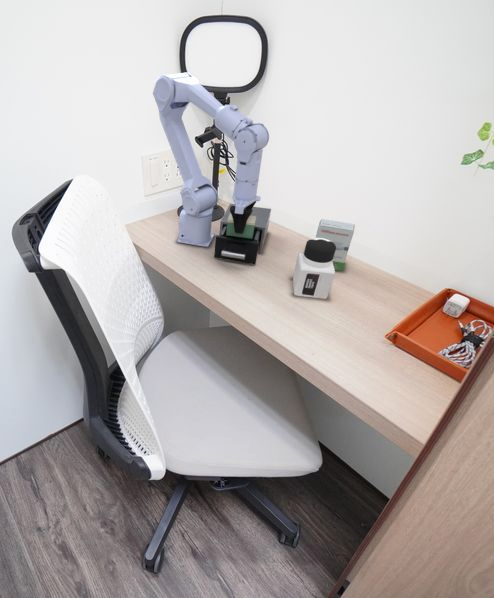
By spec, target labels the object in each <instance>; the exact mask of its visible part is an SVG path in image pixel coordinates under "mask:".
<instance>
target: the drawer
mask: <svg viewBox="0 0 494 598" xmlns="http://www.w3.org/2000/svg"><path fill="white" fill-rule="evenodd" d="M226 232H227V225H225V226H224V228H223V230H222V232H221V234H220V236H219V234H218V235H216V236H215V240H214V241H215V242H214V253H213V258H214V259H220V260H227V261H232V262H238V263H243V264H250V265H254V266H255V265H256V264H257V259H258V254H259V253H258V247H259V241H260V235H261V230H260V229H254V233H253V237H252V238H244V237H236V236H228V235H226Z"/></svg>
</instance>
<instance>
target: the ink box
mask: <svg viewBox="0 0 494 598" xmlns="http://www.w3.org/2000/svg"><path fill="white" fill-rule="evenodd" d="M316 230H317V231H316V235H315V238H324V239H327V240H330V241H332V242H333V243H334V244H335V245H336V251H335V254H334V257H333V261H332V262H333V266H334V269H335V271H338V272H339V271H340V272H342V271H343V269H344V265H345V261H346V258H347V255H348V252H349V250H350V246H351V243H352V239H353V237H354V232H355V224H354V223H348V222H343V221H337V220H330V219H324V218H321V219H320V220H319V222H318V226H317V229H316Z"/></svg>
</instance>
